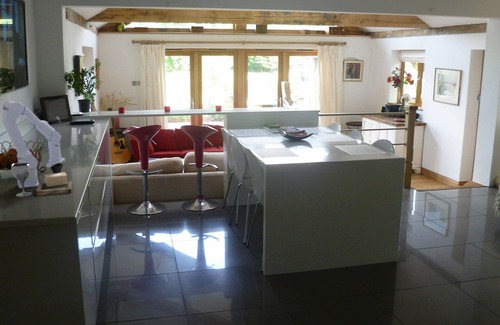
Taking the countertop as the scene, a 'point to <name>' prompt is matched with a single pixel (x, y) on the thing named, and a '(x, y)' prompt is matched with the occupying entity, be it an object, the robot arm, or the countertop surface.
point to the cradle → (53, 190)
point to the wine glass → (21, 175)
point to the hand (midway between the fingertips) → (57, 177)
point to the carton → (56, 179)
